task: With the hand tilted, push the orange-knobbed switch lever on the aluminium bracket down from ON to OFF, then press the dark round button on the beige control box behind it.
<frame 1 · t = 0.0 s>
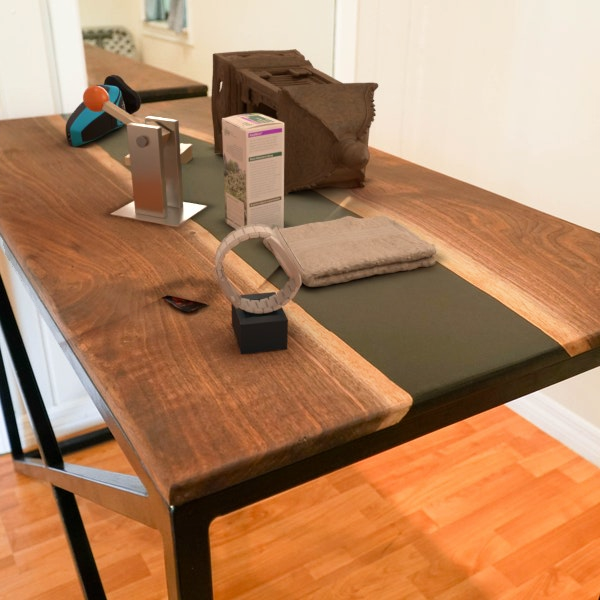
switch lever: (124, 117, 83), point 13 cm above the table, hinge at 25.0°
reset button: (158, 137, 107), point 4 cm above the table, slide at 0.1 cm
switch bracket: (160, 218, 88), on the table
control box: (160, 164, 109), on the table
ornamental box: (300, 179, 105), on the table
matchbox: (189, 301, 68), on the table
washcloth: (350, 260, 78), on the table
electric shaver: (99, 133, 125), on the table
syrup box: (254, 233, 85), on the table
watch: (259, 337, 63), on the table
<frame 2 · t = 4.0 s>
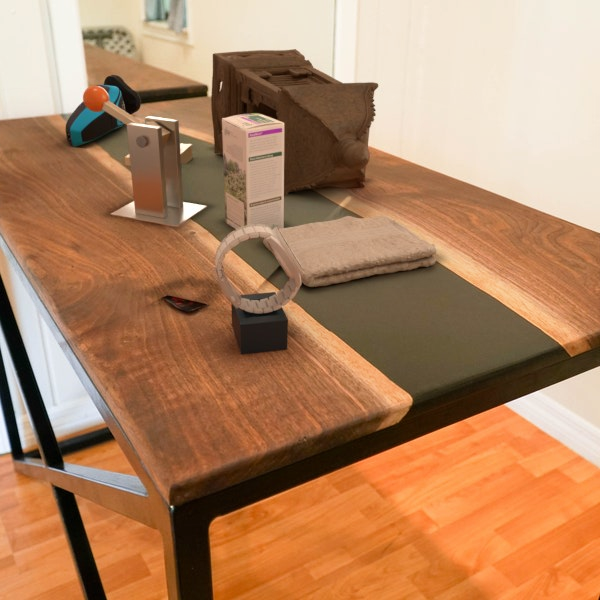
nothing on the table moved.
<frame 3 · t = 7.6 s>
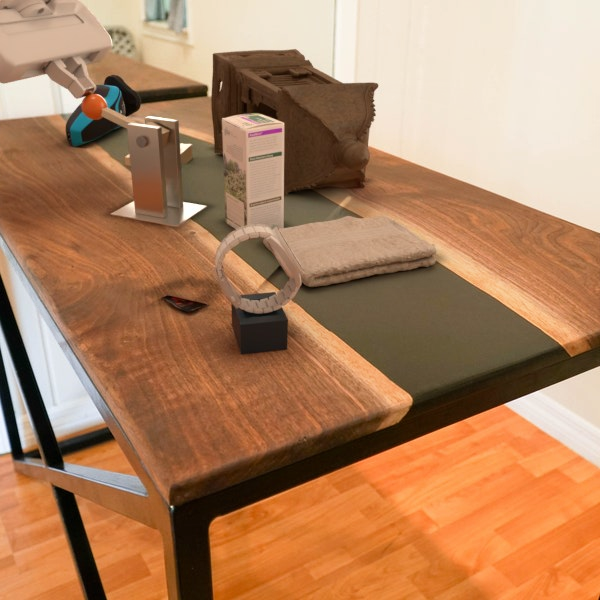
hand: (87, 93, 83), 15 cm above the table, tool tilted 45°, fingers closed, pressing on switch lever
switch lever: (123, 121, 83), point 12 cm above the table, hinge at 17.8°, touching gripper
everything else where it was.
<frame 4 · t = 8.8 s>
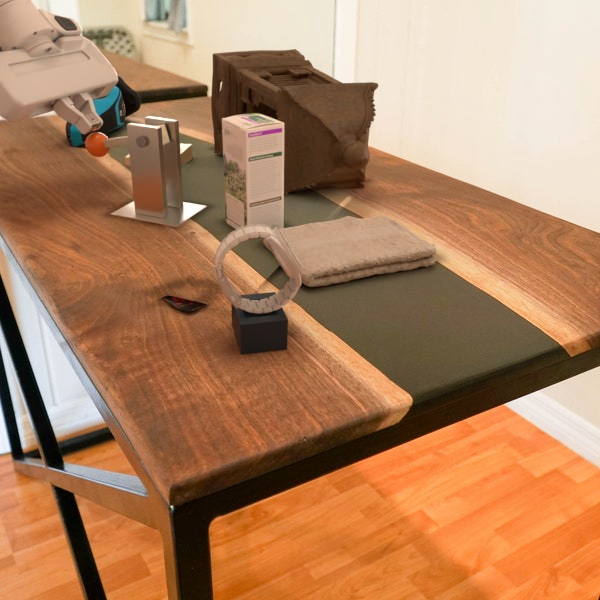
hand: (94, 129, 85), 11 cm above the table, tool tilted 45°, fingers closed
switch lever: (124, 140, 85), point 10 cm above the table, hinge at -13.9°, touching gripper
everything else where it was.
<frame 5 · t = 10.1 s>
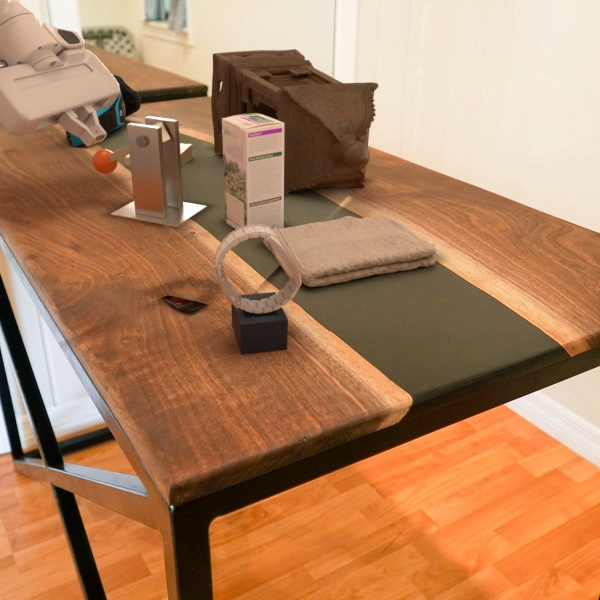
hand: (98, 141, 87), 9 cm above the table, tool tilted 45°, fingers closed
switch lever: (128, 149, 85), point 9 cm above the table, hinge at -28.5°
everything else where it was.
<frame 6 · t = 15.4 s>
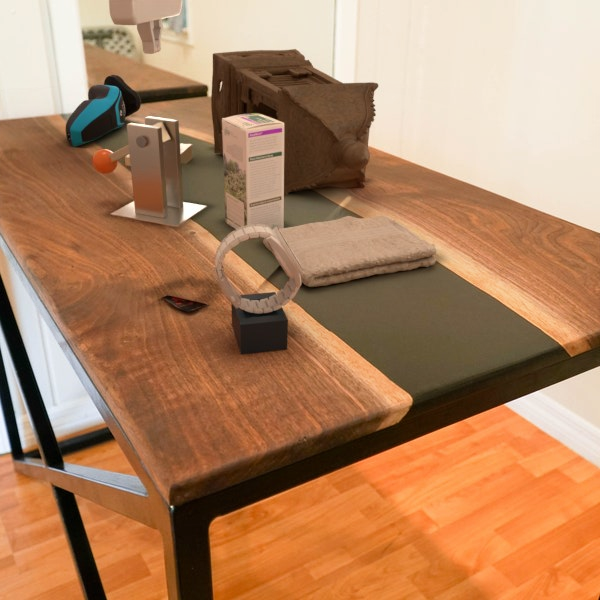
hand: (152, 52, 100), 18 cm above the table, tool pointing down, fingers closed
nothing on the table moved.
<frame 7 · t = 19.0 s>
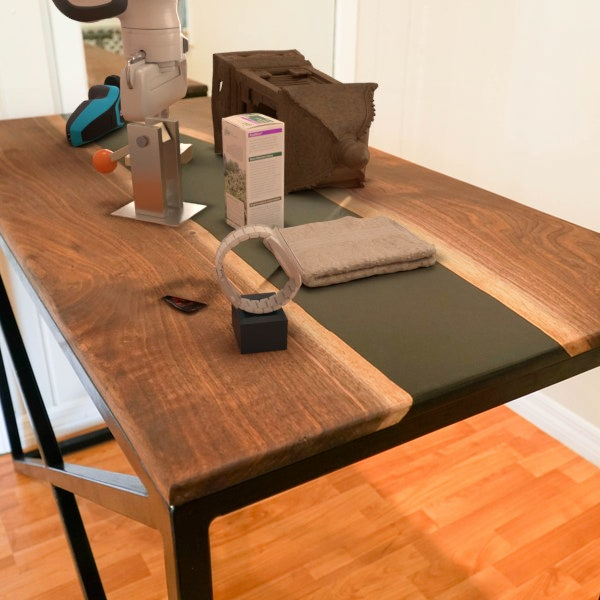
hand: (159, 137, 107), 5 cm above the table, tool pointing down, fingers closed, pressing on reset button
reset button: (159, 142, 107), point 4 cm above the table, slide at -0.7 cm, touching gripper
everything else where it was.
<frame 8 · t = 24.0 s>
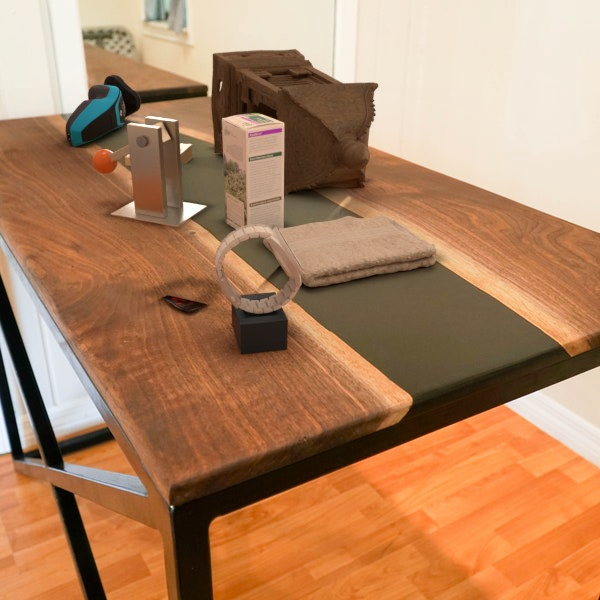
reset button: (158, 137, 107), point 4 cm above the table, slide at 0.1 cm
everything else where it was.
at the end: switch lever at -28° (first picture: +25°); reset button pushed in 0.9 cm at the most during the clip, back to where it started at the end; reset button slide at 0.1 cm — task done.
